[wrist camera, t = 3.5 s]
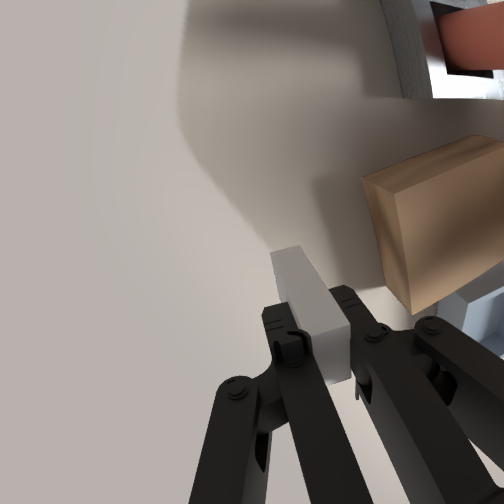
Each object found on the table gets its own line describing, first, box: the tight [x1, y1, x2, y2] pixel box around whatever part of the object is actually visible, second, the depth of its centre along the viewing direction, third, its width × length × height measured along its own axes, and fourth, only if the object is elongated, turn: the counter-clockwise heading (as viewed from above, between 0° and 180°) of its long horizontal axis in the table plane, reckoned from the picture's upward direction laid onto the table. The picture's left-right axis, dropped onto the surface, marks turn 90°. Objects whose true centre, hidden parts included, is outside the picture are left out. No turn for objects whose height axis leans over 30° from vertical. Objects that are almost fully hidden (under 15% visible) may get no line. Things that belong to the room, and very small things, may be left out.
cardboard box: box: [361, 135, 504, 315], centre depth 17 cm, size 8×10×4 cm
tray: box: [436, 259, 504, 359], centre depth 21 cm, size 10×10×4 cm
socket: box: [380, 0, 504, 100], centre depth 12 cm, size 7×7×3 cm
